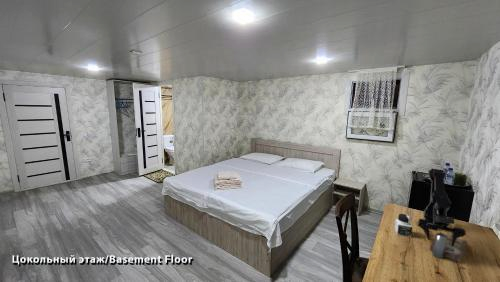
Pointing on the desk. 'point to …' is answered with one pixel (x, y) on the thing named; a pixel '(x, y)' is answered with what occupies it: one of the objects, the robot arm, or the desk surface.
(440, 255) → the steel peg
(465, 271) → the desk surface
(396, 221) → the medicine bottle
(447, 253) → the bore block
